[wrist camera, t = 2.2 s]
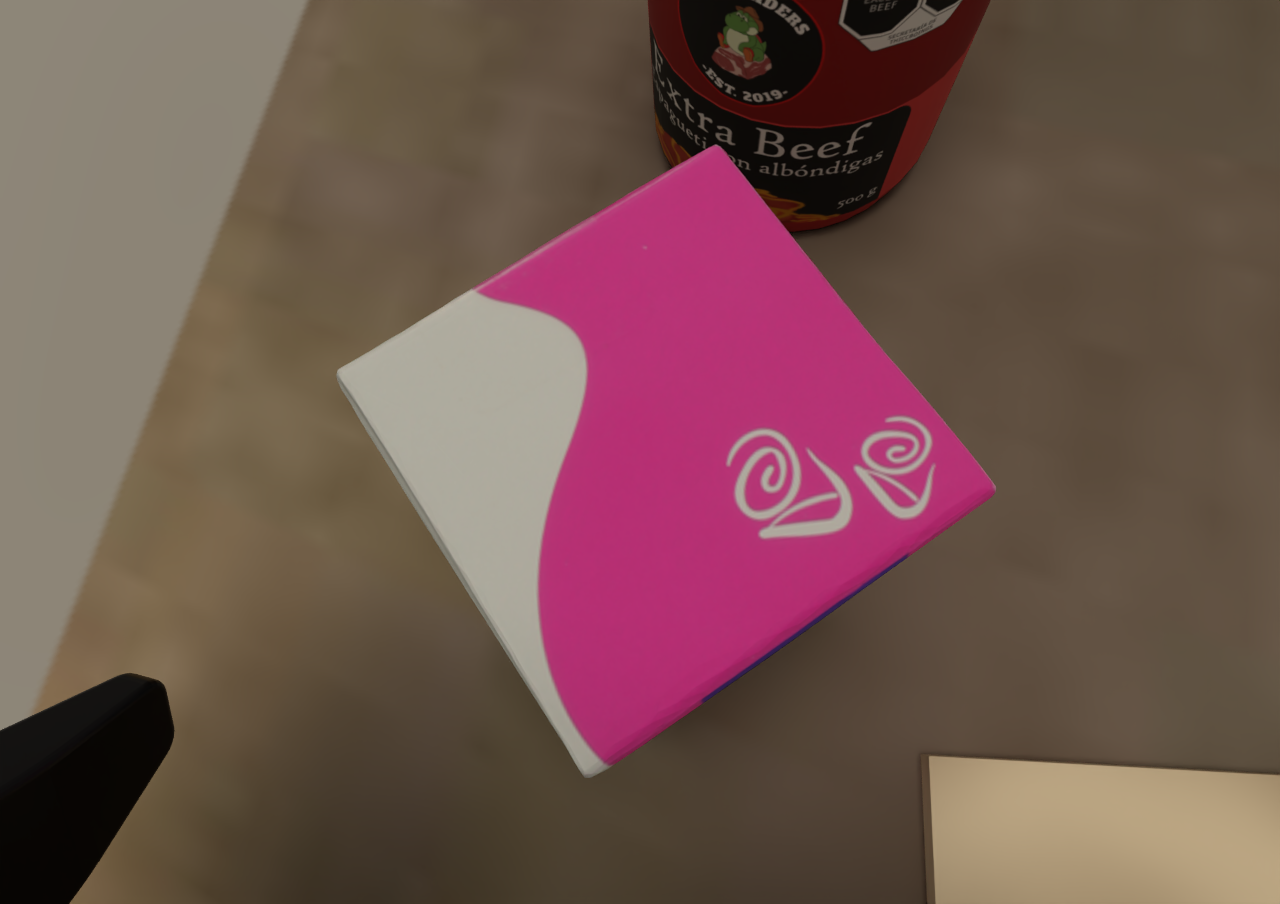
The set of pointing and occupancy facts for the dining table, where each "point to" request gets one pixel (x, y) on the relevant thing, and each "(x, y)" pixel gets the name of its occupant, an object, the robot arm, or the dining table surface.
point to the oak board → (1097, 833)
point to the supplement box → (659, 453)
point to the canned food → (807, 92)
